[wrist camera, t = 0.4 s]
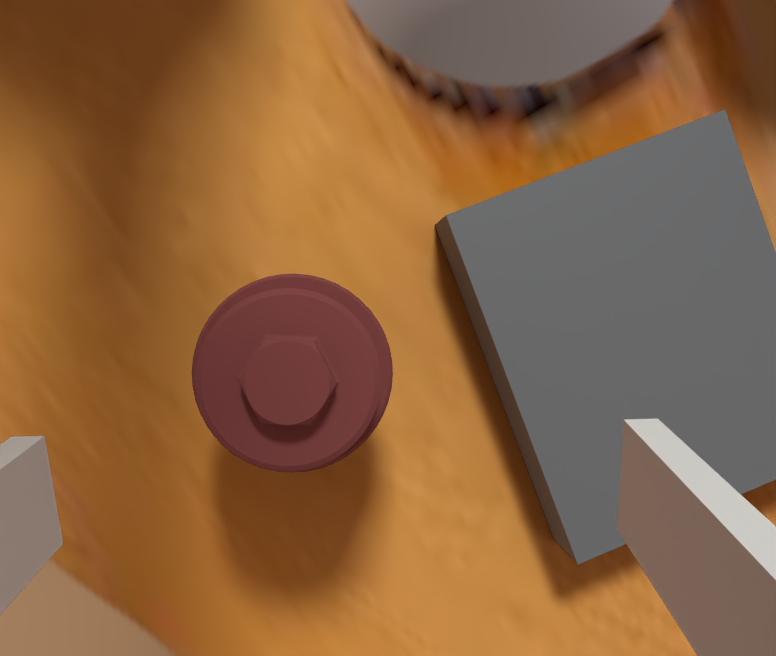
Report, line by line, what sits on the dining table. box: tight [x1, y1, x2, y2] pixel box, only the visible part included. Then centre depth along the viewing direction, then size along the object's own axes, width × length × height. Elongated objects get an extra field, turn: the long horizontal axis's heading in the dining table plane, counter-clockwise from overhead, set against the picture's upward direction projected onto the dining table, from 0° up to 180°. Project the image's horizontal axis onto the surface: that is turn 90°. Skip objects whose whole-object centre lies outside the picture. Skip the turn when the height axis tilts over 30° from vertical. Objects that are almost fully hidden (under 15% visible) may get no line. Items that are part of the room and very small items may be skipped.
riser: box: [435, 109, 776, 565], centre depth 39 cm, size 22×18×4 cm
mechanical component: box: [192, 274, 393, 472], centre depth 34 cm, size 12×10×10 cm
